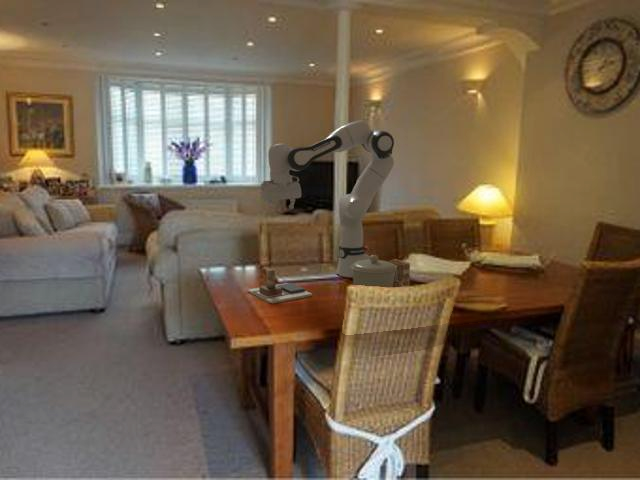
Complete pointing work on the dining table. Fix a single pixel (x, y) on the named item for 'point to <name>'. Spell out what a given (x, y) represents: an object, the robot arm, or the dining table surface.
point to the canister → (373, 272)
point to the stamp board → (283, 293)
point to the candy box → (401, 273)
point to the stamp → (270, 284)
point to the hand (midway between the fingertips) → (283, 209)
